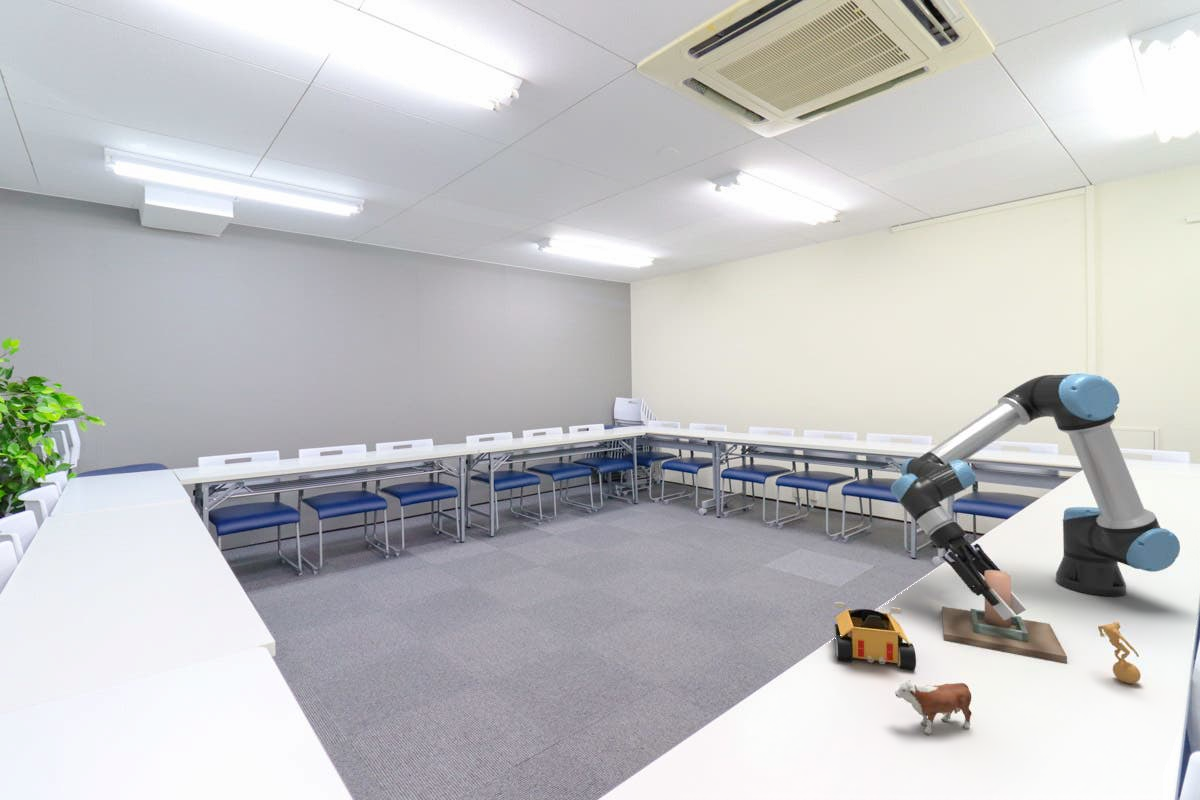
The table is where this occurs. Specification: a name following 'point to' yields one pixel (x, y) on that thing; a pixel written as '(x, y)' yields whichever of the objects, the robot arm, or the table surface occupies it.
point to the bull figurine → (937, 701)
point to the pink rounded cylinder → (1003, 589)
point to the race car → (872, 637)
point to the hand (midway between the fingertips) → (1015, 614)
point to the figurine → (1121, 668)
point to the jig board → (1002, 634)
